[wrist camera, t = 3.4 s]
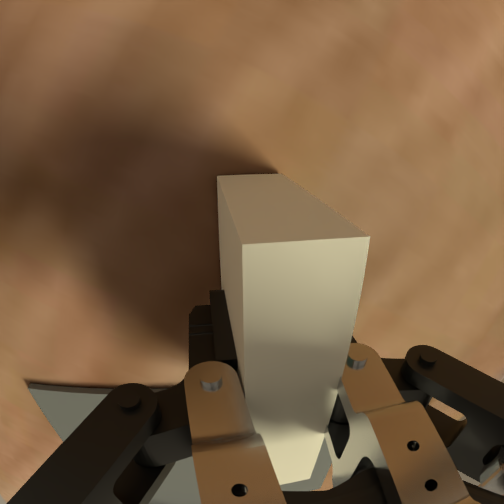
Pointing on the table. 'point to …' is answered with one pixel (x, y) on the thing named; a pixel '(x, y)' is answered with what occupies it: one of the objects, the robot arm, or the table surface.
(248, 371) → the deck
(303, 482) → the mat
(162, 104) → the table surface
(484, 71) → the table surface
